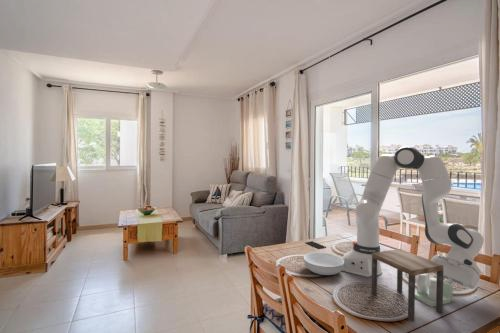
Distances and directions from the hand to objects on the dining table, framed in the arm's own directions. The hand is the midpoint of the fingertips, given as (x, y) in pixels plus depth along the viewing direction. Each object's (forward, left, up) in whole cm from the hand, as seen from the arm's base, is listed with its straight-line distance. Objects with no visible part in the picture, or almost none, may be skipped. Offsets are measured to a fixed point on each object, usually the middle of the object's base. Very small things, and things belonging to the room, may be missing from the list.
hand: (441, 286), depth 119 cm
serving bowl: (-52, +3, -5) cm, 52 cm away
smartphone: (-66, +45, -5) cm, 80 cm away
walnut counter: (-15, -15, -4) cm, 21 cm away
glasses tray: (-5, -5, -4) cm, 8 cm away
